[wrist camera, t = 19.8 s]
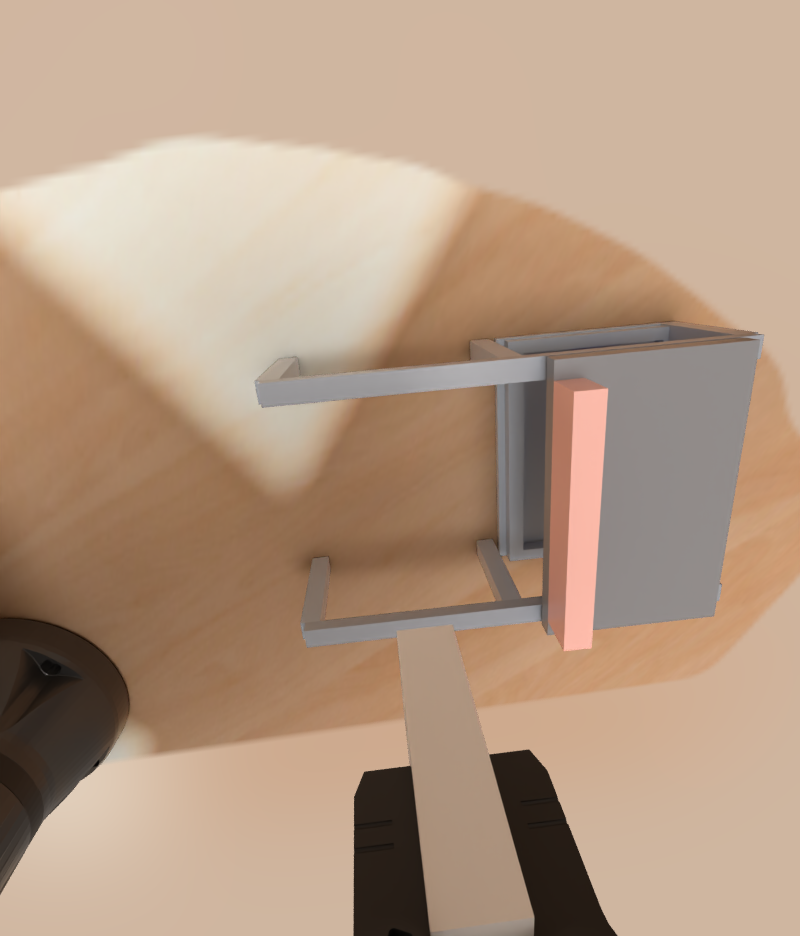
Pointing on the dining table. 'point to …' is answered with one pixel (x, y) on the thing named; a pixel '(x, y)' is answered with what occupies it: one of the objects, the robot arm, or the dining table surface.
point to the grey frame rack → (517, 458)
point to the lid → (640, 482)
